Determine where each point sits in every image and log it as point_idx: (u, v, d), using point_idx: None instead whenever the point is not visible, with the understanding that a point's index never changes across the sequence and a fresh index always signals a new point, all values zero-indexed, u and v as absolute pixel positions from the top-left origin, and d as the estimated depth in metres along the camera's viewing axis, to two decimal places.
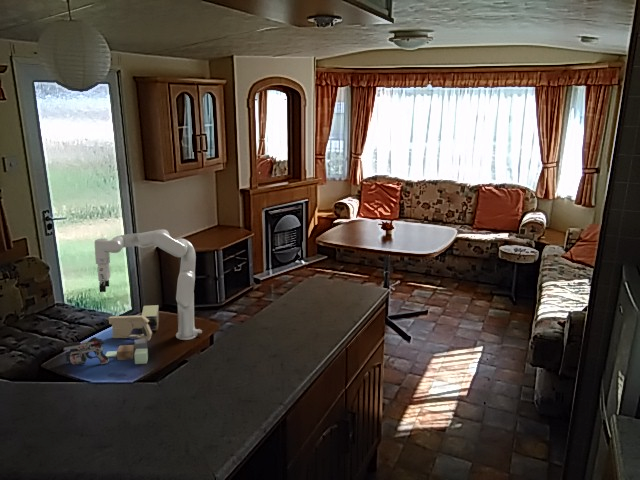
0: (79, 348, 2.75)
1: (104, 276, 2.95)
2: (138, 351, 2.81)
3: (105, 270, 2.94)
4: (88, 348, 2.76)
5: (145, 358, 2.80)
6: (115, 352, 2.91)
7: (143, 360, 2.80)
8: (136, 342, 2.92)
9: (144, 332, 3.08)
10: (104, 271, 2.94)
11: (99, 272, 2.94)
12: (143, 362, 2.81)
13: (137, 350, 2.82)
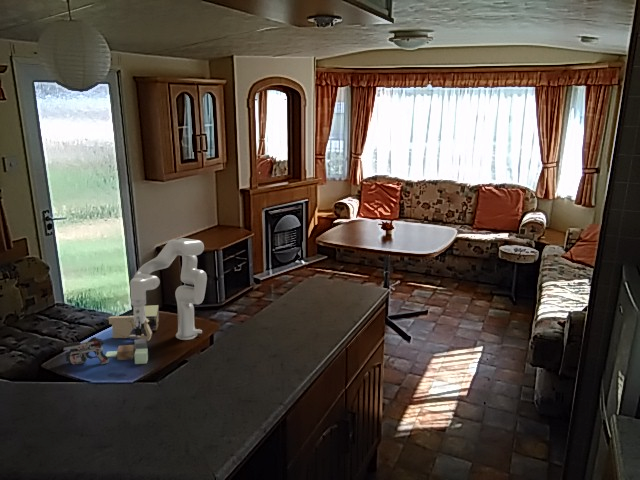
0: (79, 348, 2.75)
1: (140, 318, 2.73)
2: (138, 351, 2.81)
3: (141, 312, 2.72)
4: (88, 348, 2.76)
5: (145, 358, 2.80)
6: (115, 352, 2.91)
7: (143, 360, 2.80)
8: (136, 342, 2.92)
9: (144, 332, 3.08)
10: (140, 313, 2.72)
11: (135, 314, 2.72)
12: (143, 362, 2.81)
13: (137, 350, 2.82)
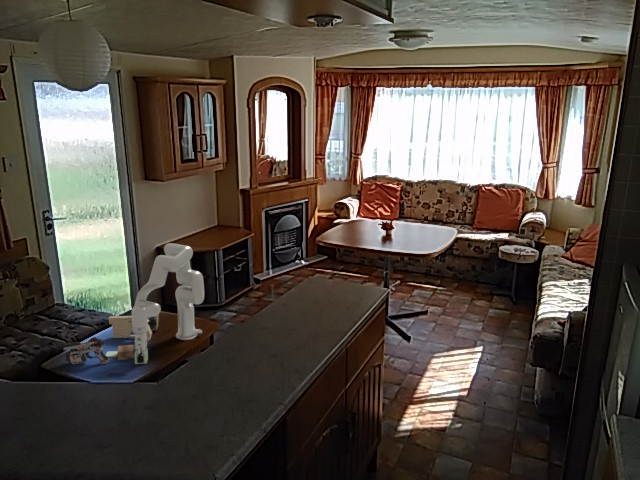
0: (79, 348, 2.75)
1: (142, 346, 2.76)
2: None
3: (143, 340, 2.76)
4: (88, 348, 2.76)
5: (145, 358, 2.80)
6: (115, 352, 2.91)
7: None
8: None
9: None
10: (142, 341, 2.76)
11: (136, 342, 2.75)
12: None
13: None
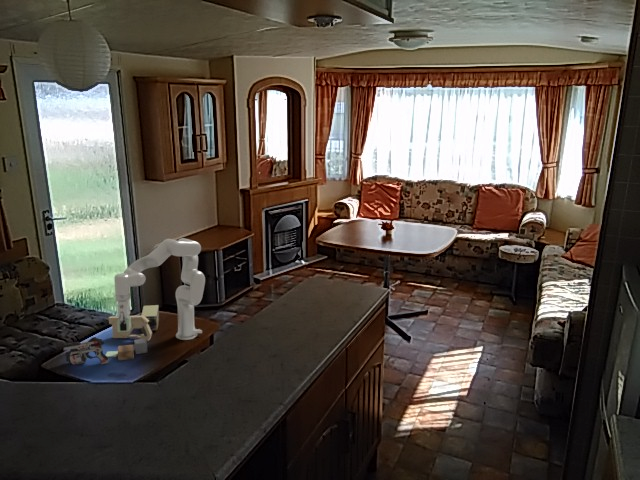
0: (79, 348, 2.75)
1: (124, 313, 2.78)
2: None
3: (125, 307, 2.77)
4: (88, 348, 2.76)
5: (128, 326, 2.81)
6: (115, 352, 2.91)
7: None
8: (136, 342, 2.92)
9: (144, 332, 3.08)
10: (124, 308, 2.77)
11: (119, 309, 2.77)
12: (126, 330, 2.82)
13: None
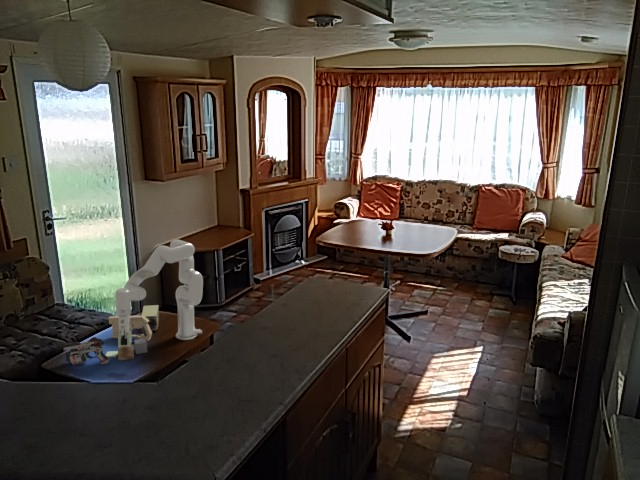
0: (79, 348, 2.75)
1: (125, 328, 2.79)
2: None
3: (126, 322, 2.79)
4: (88, 348, 2.76)
5: (128, 340, 2.83)
6: (115, 352, 2.91)
7: (127, 342, 2.83)
8: (136, 342, 2.92)
9: (144, 332, 3.08)
10: (125, 323, 2.79)
11: (120, 324, 2.79)
12: None
13: None
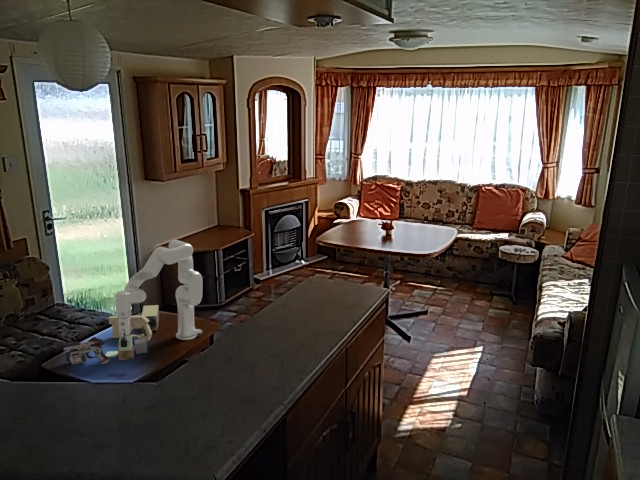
0: (79, 348, 2.75)
1: (125, 331, 2.80)
2: None
3: (126, 324, 2.80)
4: (88, 348, 2.76)
5: (129, 345, 2.84)
6: (115, 352, 2.91)
7: (127, 347, 2.84)
8: (136, 342, 2.92)
9: (144, 332, 3.08)
10: (125, 325, 2.79)
11: (120, 327, 2.79)
12: (127, 349, 2.84)
13: None
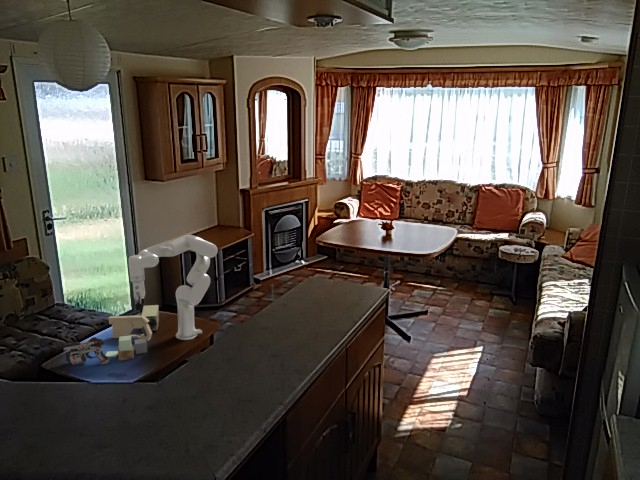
0: (79, 348, 2.75)
1: (140, 294, 2.84)
2: (122, 339, 2.85)
3: (141, 288, 2.84)
4: (88, 348, 2.76)
5: (129, 345, 2.84)
6: (115, 352, 2.91)
7: (128, 347, 2.84)
8: (136, 342, 2.92)
9: (144, 332, 3.08)
10: (140, 289, 2.84)
11: (135, 290, 2.84)
12: (127, 349, 2.84)
13: (121, 337, 2.86)
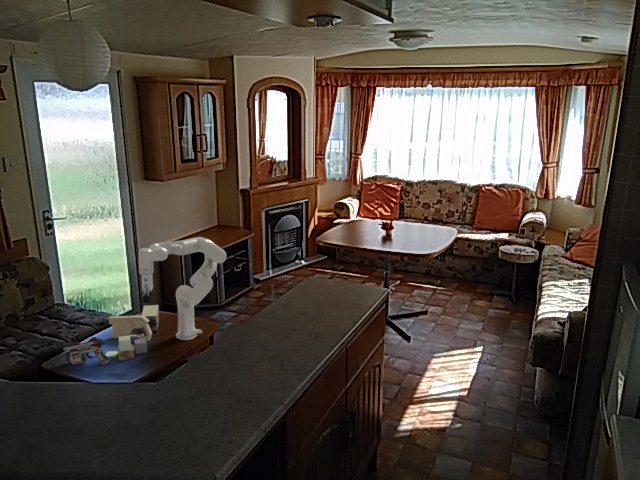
0: (79, 348, 2.75)
1: (148, 286, 2.89)
2: (122, 339, 2.84)
3: (149, 280, 2.88)
4: (88, 348, 2.76)
5: (129, 345, 2.84)
6: (115, 352, 2.91)
7: (128, 347, 2.84)
8: (136, 342, 2.92)
9: (144, 332, 3.08)
10: (148, 281, 2.88)
11: (143, 282, 2.88)
12: (127, 349, 2.84)
13: (120, 338, 2.86)
